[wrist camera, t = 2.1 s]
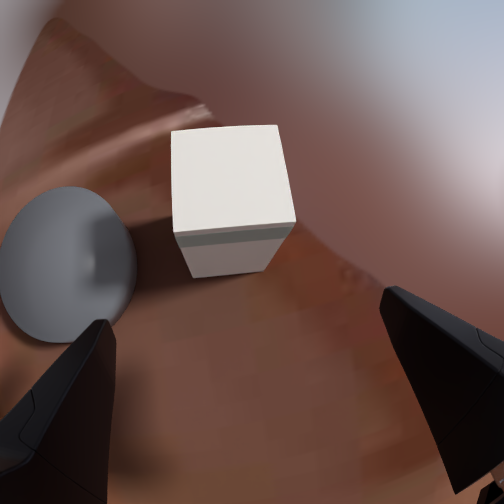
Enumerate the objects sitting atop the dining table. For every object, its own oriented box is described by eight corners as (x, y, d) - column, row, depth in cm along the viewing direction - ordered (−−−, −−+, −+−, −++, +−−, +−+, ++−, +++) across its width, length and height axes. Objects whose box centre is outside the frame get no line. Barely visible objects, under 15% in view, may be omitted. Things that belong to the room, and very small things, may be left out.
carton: (263, 271, 23) (296, 221, 13) (192, 278, 22) (173, 232, 12) (254, 206, 24) (277, 124, 14) (187, 211, 23) (170, 131, 14)
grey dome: (163, 300, 21) (154, 294, 18) (46, 365, 19) (26, 367, 16) (106, 179, 23) (94, 160, 20) (5, 244, 21) (-14, 233, 18)
